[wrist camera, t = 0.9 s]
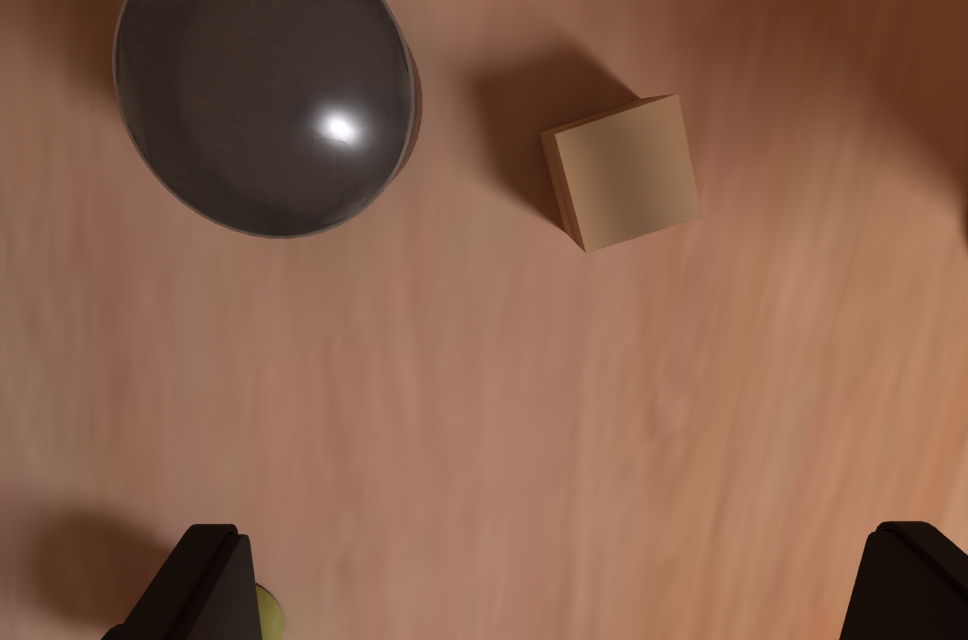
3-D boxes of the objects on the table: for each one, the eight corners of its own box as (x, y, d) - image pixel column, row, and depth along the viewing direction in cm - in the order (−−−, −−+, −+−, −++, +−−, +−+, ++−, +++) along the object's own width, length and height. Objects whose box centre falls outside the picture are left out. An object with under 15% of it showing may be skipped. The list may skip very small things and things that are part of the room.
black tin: (378, -61, 25) (349, -127, 18) (454, 174, 28) (453, 189, 22) (157, 18, 26) (52, -19, 19) (256, 239, 29) (196, 273, 22)
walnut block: (639, 98, 28) (678, 93, 23) (662, 201, 29) (702, 216, 24) (537, 132, 28) (554, 134, 23) (565, 232, 29) (586, 253, 25)
